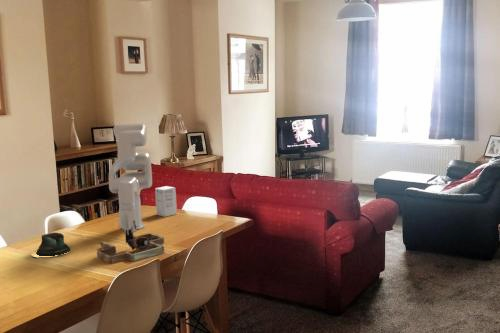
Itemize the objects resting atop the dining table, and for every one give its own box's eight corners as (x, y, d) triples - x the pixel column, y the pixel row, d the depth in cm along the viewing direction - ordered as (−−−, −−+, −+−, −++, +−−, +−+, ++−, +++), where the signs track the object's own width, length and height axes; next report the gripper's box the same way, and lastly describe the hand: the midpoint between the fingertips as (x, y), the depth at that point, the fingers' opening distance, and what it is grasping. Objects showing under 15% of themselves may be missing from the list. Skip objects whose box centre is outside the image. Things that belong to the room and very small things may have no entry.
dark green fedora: (83, 250, 256) (82, 232, 255) (49, 262, 240) (47, 242, 238) (57, 244, 267) (55, 227, 265) (22, 255, 250) (21, 237, 249)
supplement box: (177, 214, 322) (176, 187, 319) (165, 216, 315) (164, 189, 313) (168, 211, 329) (166, 185, 326) (156, 214, 322) (154, 188, 319)
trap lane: (84, 251, 252) (84, 245, 252) (146, 236, 276) (145, 230, 275) (115, 266, 231) (114, 260, 230) (179, 248, 254) (178, 242, 253)
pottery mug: (153, 248, 256) (154, 237, 251) (146, 262, 248) (147, 251, 243) (130, 242, 257) (130, 230, 252) (122, 256, 249) (122, 244, 244)
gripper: (112, 204, 254) (115, 240, 257) (128, 209, 243) (130, 247, 246) (126, 202, 259) (128, 237, 262) (142, 206, 248) (144, 243, 251)
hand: (129, 242), depth 254 cm, fingers closed
